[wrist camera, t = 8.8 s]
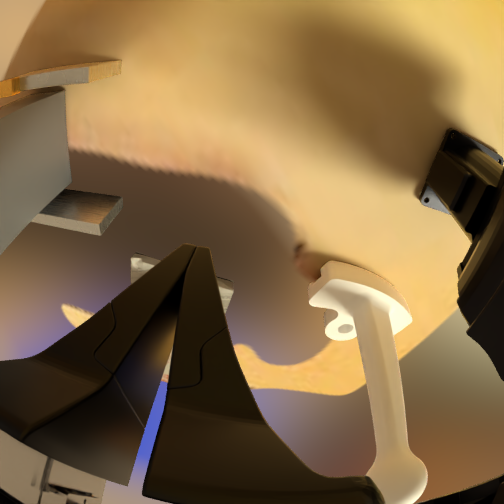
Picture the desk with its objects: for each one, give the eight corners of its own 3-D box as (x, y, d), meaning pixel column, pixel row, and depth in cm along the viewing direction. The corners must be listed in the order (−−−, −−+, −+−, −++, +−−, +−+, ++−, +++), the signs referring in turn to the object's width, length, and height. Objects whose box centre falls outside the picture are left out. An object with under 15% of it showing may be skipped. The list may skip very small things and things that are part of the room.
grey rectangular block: (65, 90, 16) (-37, 139, 8) (72, 182, 21) (-2, 257, 13) (28, 95, 16) (-65, 144, 8) (37, 178, 21) (-34, 245, 13)
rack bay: (121, 59, 15) (43, 77, 9) (122, 207, 23) (74, 272, 16) (24, 72, 15) (-48, 101, 8) (38, 194, 22) (-13, 245, 16)
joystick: (415, 298, 26) (459, 490, 11) (365, 336, 31) (383, 510, 15) (337, 251, 24) (366, 521, 8) (286, 302, 28) (277, 522, 12)
